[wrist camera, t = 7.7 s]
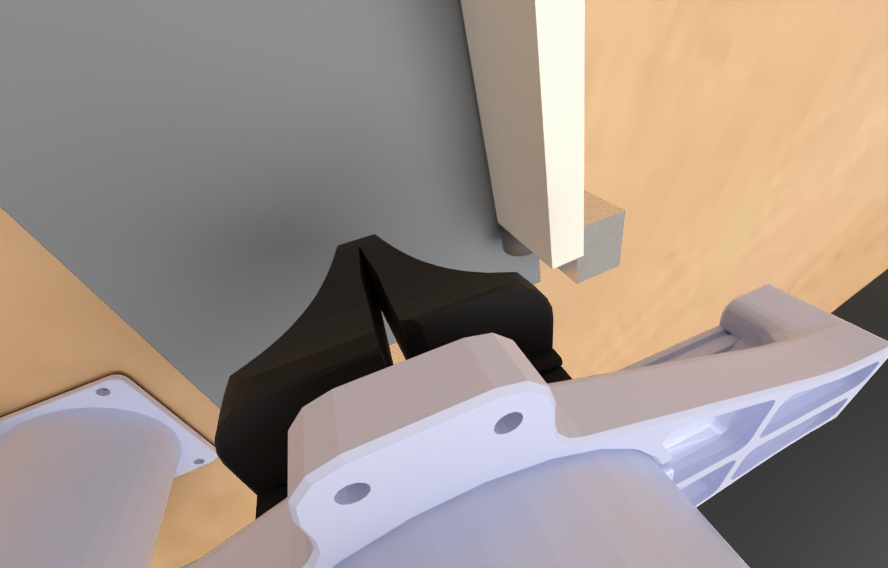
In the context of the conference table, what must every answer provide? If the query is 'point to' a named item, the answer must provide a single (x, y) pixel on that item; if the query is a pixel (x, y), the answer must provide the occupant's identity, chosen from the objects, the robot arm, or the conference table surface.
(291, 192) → the mat
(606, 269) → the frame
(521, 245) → the block
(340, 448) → the robot arm
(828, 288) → the conference table surface
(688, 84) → the conference table surface
